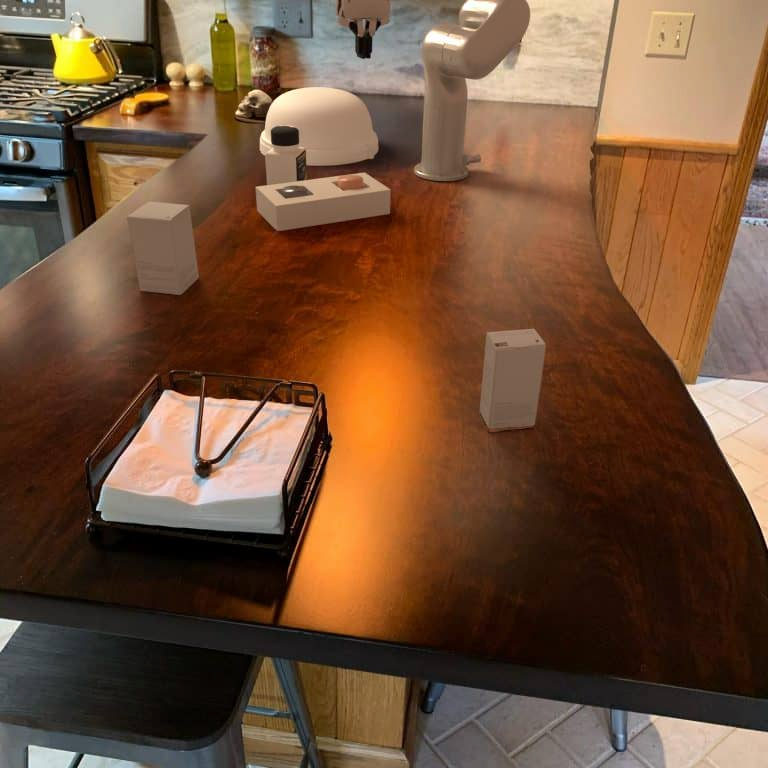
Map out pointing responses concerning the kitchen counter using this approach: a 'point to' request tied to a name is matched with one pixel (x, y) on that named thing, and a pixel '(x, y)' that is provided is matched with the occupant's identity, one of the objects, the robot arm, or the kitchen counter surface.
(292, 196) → the charcoal button
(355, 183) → the light brown rounded piece
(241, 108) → the skull
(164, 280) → the supplement box
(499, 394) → the skincare box
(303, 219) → the button console
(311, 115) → the dome cover
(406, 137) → the kitchen counter surface
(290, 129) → the medicine bottle
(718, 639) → the kitchen counter surface
